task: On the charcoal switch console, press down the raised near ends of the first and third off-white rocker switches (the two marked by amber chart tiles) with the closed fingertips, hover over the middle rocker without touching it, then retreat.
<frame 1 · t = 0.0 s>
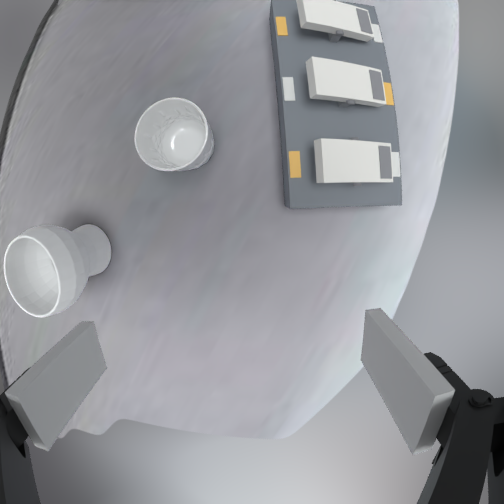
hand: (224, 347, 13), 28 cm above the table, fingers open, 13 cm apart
console: (328, 102, 37), on the table
rocker 2: (348, 82, 28), point 9 cm above the table, hinge at -15.0°
white cup: (190, 145, 38), on the table
rocker 3: (356, 161, 30), point 9 cm above the table, hinge at -15.0°
rocker 1: (336, 17, 26), point 9 cm above the table, hinge at -15.0°
cup: (90, 249, 41), on the table
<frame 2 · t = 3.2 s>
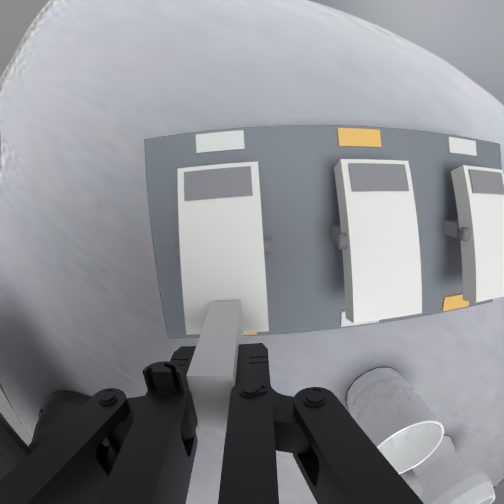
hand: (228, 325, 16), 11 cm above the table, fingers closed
console: (338, 219, 25), on the table
rocker 2: (381, 238, 16), point 9 cm above the table, hinge at -15.0°
white cup: (373, 389, 29), on the table
rocker 3: (487, 232, 16), point 9 cm above the table, hinge at -15.0°
rocker 1: (222, 248, 16), point 9 cm above the table, hinge at -14.3°, touching gripper
cup: (429, 451, 33), on the table
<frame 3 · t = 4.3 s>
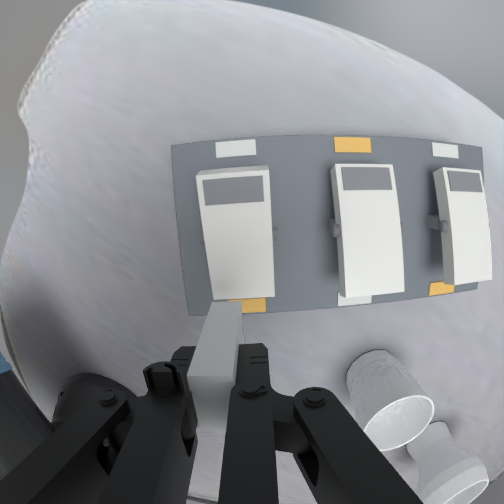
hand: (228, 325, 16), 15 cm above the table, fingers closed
console: (337, 215, 29), on the table
rocker 2: (369, 229, 20), point 9 cm above the table, hinge at -15.0°
white cup: (371, 371, 33), on the table
rocker 3: (466, 225, 20), point 9 cm above the table, hinge at -15.0°
rocker 1: (238, 236, 20), point 9 cm above the table, hinge at 14.0°
cup: (426, 436, 36), on the table
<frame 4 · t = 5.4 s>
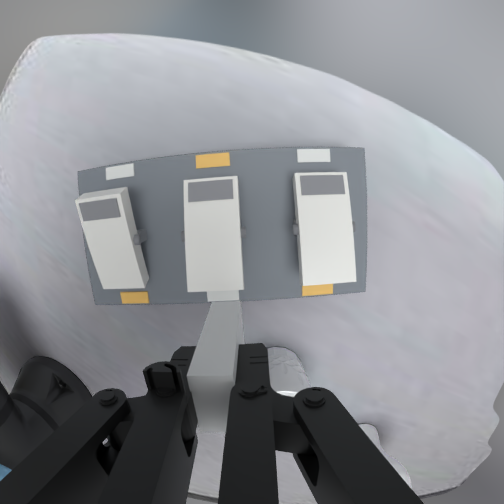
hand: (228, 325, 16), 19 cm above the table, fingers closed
console: (223, 221, 33), on the table
rocker 2: (213, 234, 24), point 9 cm above the table, hinge at -15.0°
white cup: (275, 367, 37), on the table
rocker 3: (324, 227, 24), point 9 cm above the table, hinge at -15.0°
rocker 1: (112, 242, 24), point 9 cm above the table, hinge at 18.5°
cup: (354, 438, 41), on the table
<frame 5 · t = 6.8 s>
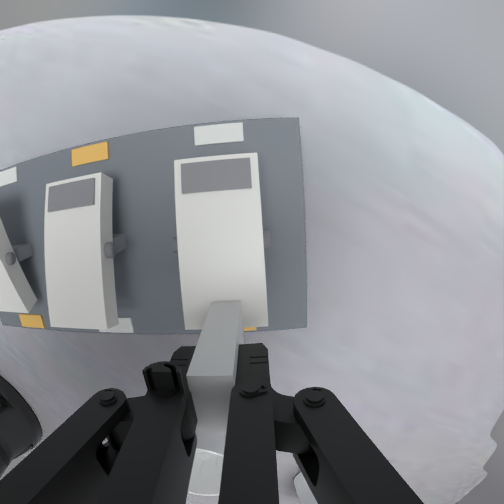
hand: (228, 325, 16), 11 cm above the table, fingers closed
console: (130, 228, 25), on the table
rocker 2: (76, 252, 16), point 9 cm above the table, hinge at -15.0°
white cup: (210, 402, 30), on the table
rocker 3: (221, 241, 16), point 9 cm above the table, hinge at -11.3°, touching gripper
cup: (320, 476, 33), on the table
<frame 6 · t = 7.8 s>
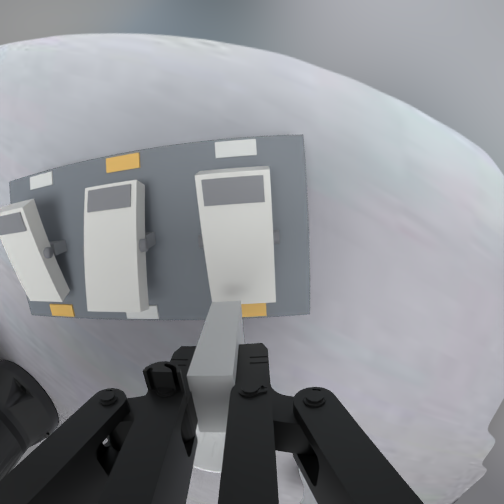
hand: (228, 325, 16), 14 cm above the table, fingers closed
console: (154, 228, 29), on the table
rocker 2: (113, 247, 20), point 9 cm above the table, hinge at -15.0°
white cup: (223, 387, 33), on the table
rocker 3: (238, 239, 20), point 9 cm above the table, hinge at 11.4°
rocker 1: (29, 254, 20), point 9 cm above the table, hinge at 19.7°
cup: (323, 463, 36), on the table
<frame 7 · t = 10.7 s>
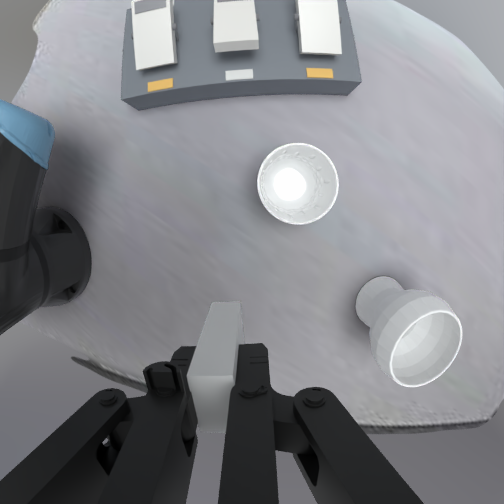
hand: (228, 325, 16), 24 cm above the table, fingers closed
console: (238, 50, 34), on the table
rocker 2: (234, 18, 25), point 9 cm above the table, hinge at -15.0°
white cup: (287, 184, 38), on the table
rocker 3: (318, 18, 25), point 9 cm above the table, hinge at 17.7°
rocker 1: (153, 30, 25), point 9 cm above the table, hinge at 19.7°
cup: (379, 300, 41), on the table
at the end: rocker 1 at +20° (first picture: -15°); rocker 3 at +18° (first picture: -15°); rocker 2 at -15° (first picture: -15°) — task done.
